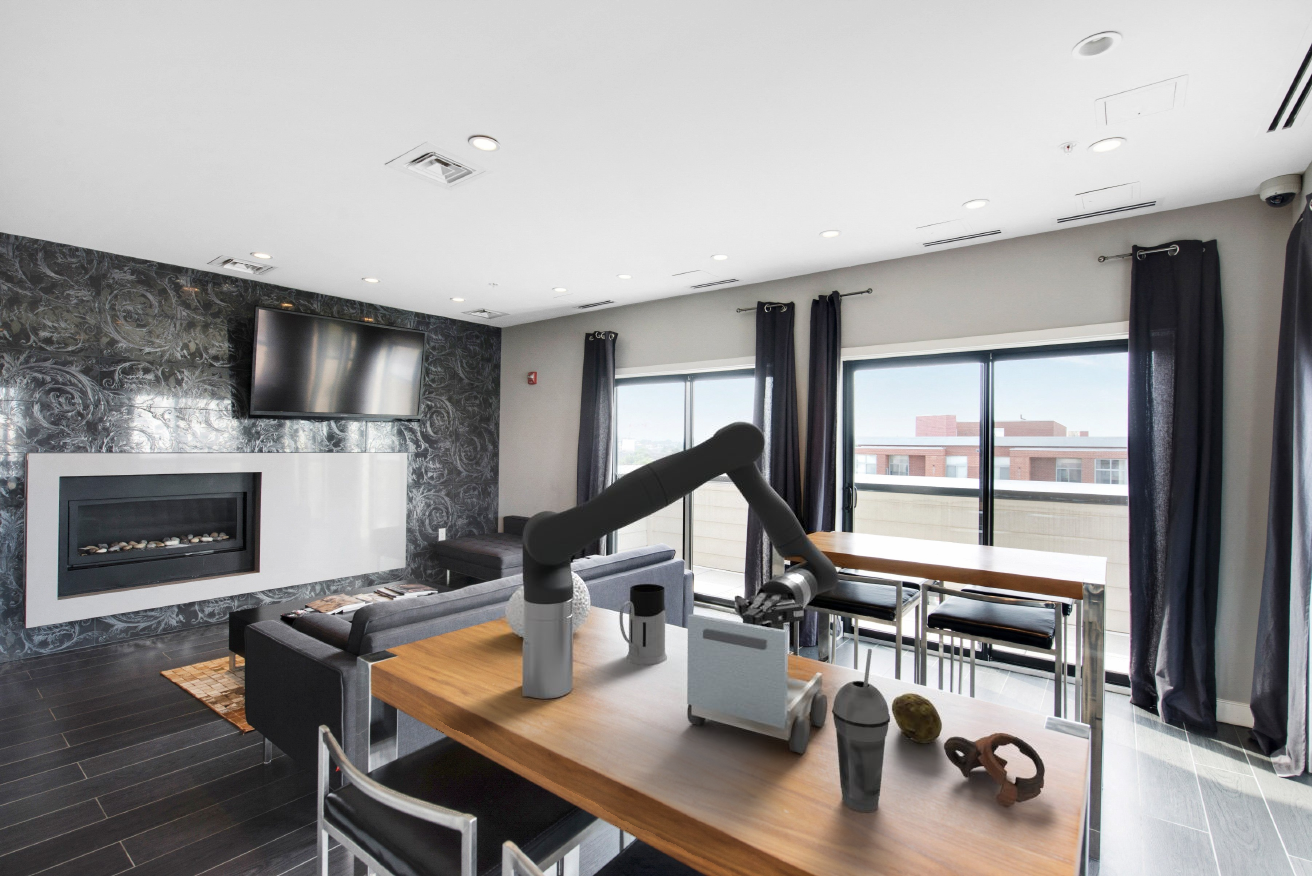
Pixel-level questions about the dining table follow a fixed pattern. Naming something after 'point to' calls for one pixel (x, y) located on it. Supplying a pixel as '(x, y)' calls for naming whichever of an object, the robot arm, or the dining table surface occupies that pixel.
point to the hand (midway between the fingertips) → (748, 621)
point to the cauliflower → (579, 606)
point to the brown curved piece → (997, 764)
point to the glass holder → (645, 624)
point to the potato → (916, 718)
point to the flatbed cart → (799, 705)
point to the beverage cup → (860, 741)
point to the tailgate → (738, 669)
